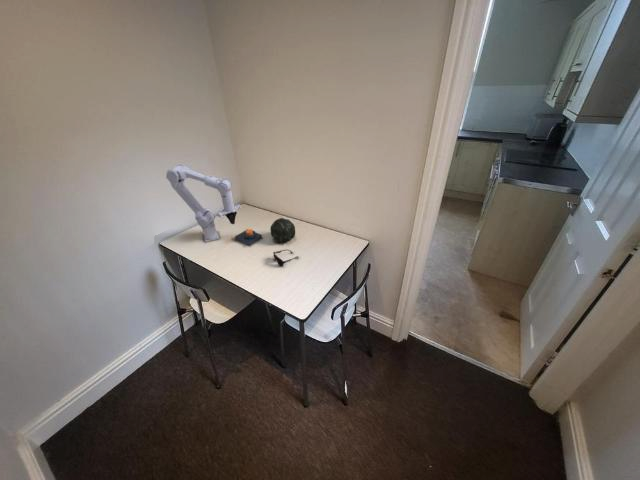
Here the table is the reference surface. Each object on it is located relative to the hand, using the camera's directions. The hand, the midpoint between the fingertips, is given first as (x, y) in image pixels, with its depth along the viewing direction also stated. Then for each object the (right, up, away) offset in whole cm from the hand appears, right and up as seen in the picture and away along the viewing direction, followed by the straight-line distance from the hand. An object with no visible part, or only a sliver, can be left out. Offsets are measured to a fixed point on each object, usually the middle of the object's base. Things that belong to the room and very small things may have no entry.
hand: (232, 223), depth 148 cm
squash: (+29, -9, +6) cm, 31 cm away
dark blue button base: (+8, -9, +5) cm, 13 cm away
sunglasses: (+32, -20, -12) cm, 40 cm away
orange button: (+9, -6, +2) cm, 11 cm away
